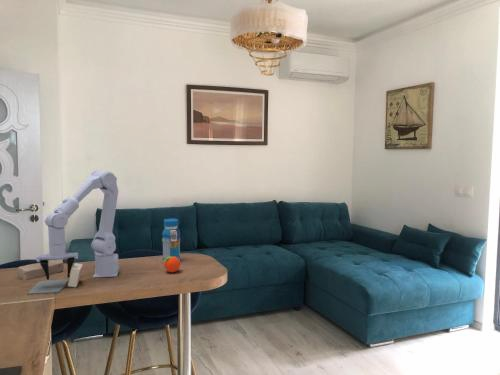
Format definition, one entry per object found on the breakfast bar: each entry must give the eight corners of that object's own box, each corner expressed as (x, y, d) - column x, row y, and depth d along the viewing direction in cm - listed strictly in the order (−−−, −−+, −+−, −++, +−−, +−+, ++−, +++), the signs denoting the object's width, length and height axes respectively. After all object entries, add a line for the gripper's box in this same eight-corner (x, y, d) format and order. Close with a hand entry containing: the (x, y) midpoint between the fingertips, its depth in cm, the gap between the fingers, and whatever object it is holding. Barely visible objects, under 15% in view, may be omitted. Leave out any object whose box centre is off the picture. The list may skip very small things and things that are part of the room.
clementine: (167, 275, 177) (167, 259, 176) (159, 272, 182) (158, 256, 181) (183, 272, 182) (183, 256, 182) (175, 268, 187) (174, 253, 187)
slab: (79, 281, 170) (83, 264, 170) (76, 287, 162) (80, 269, 162) (71, 279, 169) (74, 263, 169) (67, 286, 161) (71, 268, 161)
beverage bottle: (159, 262, 197) (159, 220, 195) (166, 258, 206) (165, 217, 204) (176, 263, 196) (176, 221, 194) (182, 258, 204) (182, 218, 202)
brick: (25, 281, 170) (24, 269, 170) (16, 277, 175) (15, 266, 175) (64, 272, 183) (64, 261, 182) (55, 268, 188) (55, 258, 188)
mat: (68, 280, 170) (68, 279, 170) (59, 292, 156) (59, 291, 156) (40, 281, 168) (39, 280, 168) (27, 294, 154) (27, 293, 154)
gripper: (77, 240, 167) (78, 273, 169) (37, 242, 162) (38, 276, 163) (77, 243, 161) (78, 278, 162) (35, 246, 156) (36, 282, 157)
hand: (58, 277), depth 162 cm, fingers open, 7 cm apart
